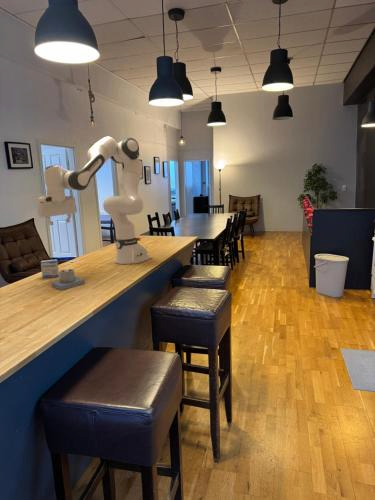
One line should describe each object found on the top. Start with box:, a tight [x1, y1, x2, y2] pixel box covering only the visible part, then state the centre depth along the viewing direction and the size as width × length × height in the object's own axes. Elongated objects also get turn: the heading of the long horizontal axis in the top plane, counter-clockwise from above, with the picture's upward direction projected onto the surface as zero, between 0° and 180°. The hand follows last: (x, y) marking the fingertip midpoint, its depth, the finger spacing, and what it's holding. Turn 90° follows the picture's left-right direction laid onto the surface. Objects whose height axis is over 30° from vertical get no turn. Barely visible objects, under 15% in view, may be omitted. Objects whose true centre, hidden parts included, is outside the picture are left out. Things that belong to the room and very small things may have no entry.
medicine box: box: [40, 258, 60, 279], centre depth 183 cm, size 8×4×9 cm, turn 105°
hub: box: [59, 268, 76, 283], centre depth 167 cm, size 6×6×5 cm
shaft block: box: [50, 268, 86, 291], centre depth 167 cm, size 12×10×8 cm
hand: (60, 223), depth 183 cm, fingers open, 8 cm apart
